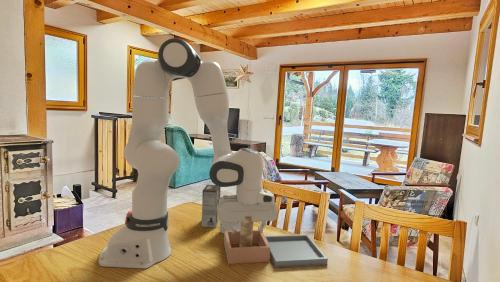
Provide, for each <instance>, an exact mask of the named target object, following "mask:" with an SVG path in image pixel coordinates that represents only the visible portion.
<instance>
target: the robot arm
mask: <svg viewBox="0 0 500 282" xmlns="http://www.w3.org/2000/svg"><path fill="white" fill-rule="evenodd" d="M183 79H187V80H188V81H189V83H190V85H191V87H192V92H193V98H194V102H195V103H194V104H195V107H196V110H197V114H198V116H199V118H200V119H201V121H202V122H203V123H204V124H205V125H206V126H207V128H208V131H209V133H210V138H211V144H212V148H213V149H212V150H213V156H212V157H213V158H212V160H211V166H210V168H209V171H208V172H209V174H208V175H209V176H208V177H209V179H210V181H211V182H212V183H213V185H217V186H219V187H221V188H229V187H230V188H231V187H235V186H236V189H235V190H236V191H235V193H236V194H233V195H232V194H231V195H223V196H222V197H221V196H220V199H219V207H220V211H219V222H220V221H221V222H222V223H229V225H230V227H231V228H232V234H237V232H236V231H237V229H236V227H233V225H234V222H244V221H245V216H252V222H253V223H254V222H261V224H260V226H257V230H258V232H259V233H263V234H264V228H265V227H266V225H267V222H274V221H276V220H277V218H278V210H277V209H278V208H277V204H276V203H275V200H276V197H275V194H274V193H272V192H271V191H270V190H267V189H264V188H263V185H262V178H263V173H264V172H263V171H264V169H263V168H264V167H263V166H264V163H263V157H262V154H261V153H260V152H259V151H258V150H255V149H253V148H249V147H242V148H240V149H239V150H237V151H235V152H234V153H233V151H232V148H231V145H230V138H229V137H230V136H229V132H228V121H229V120H228V119H229V115H230V99H229V92H228V87H227V86H228V85H227V83H226V79H225V76H224V73H223V70H222V68H221V66H220V64H219V63H218V62H216V61H214V60H202V58H201V57H200V55H199V54H198V53H197V52H196V50H195V49H194V48H193V46H192V45H190V43H188V42H187V41H186V40H184V39H181V38H178V37H177V38H176V37H173V38H168V39H167V40H165V41H163V42H162V44H161V45H160V46H159V49H158V52H157V60H155V61H154V60H153V61H152V60H151V61H149V60H148V61H144V62H140V63H139V64H138V65H137V67H136V69H135V72H134V77H133V83H132V84H133V85H132V108H131V110H132V113H131V116H132V117H131V126H130V130H129V134H128V138H127V143H126V144H125V146H124V148H123V157H124V159H125V161H126V163H127V164H128V165H129V166H130V167H131V168H133V169H135V170H137V173H138V175H137V180H136V185H135V187H134V188H133V190H132V193H131V210H129V211H127V213H126V215H125V220H124V225H123V226H122V227H121V228H119V229H118V230H115V232H114V233H113V234H112V235H111V237H109V240H108V242H107V245H106V247H104V248H103V250H102V251H101V252H100V254H99V257H98V261H97V262H98V265H99V266H100V267H106V268H107V267H109V268H110V267H111V268H126V269H127V268H128V269H129V268H130V269H149V268H150V267H151V266H153V265H155V264H157V263H159V262H162V261H164V260H166V259H167V258H168V257H169V256H170V255H171V253H172V249H171V245H170V241H169V234H168V228H169V212H168V210H167V209H168V191H169V190H168V189H169V186H170V182H171V178H172V176H173V175H174V174H176V172H177V170H178V168H179V166H180V156H179V155H178V153H177V151H176V150H175V149H174V148H173V147H171V146H170V145H168V144H166V143H164V142H162V136H163V133H164V130H165V128H166V126H167V125H168V124H169V119H170V118H169V116H170V115H169V114H170V99H169V98H170V87H171V84H172V83H171V82H174V81H178V80H183Z"/></svg>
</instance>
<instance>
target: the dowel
mask: <svg viewBox="0 0 500 282" xmlns="http://www.w3.org/2000/svg"><path fill="white" fill-rule="evenodd" d="M253 230H254V222H252V216H245V221H244V222H241V228H240V244H239V247H253V243H252V238H253Z"/></svg>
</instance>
